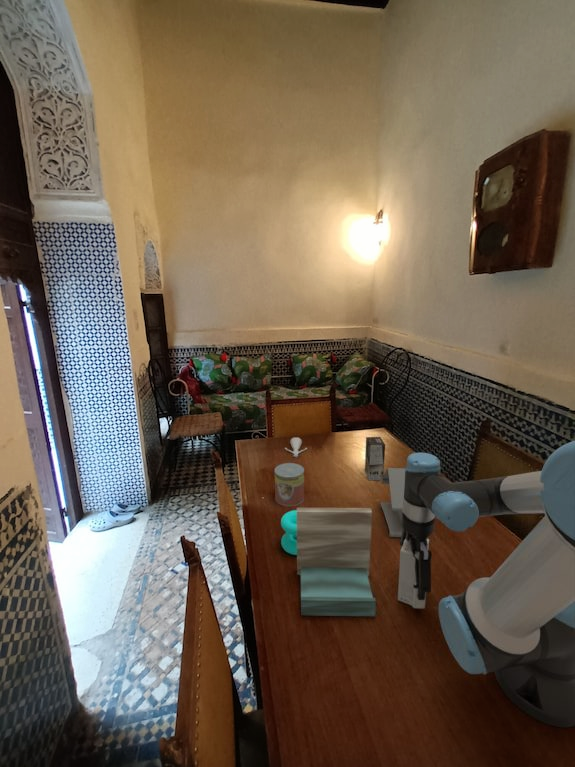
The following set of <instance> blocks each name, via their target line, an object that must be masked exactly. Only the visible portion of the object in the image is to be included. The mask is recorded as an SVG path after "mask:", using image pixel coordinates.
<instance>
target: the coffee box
mask: <svg viewBox="0 0 575 767" xmlns="http://www.w3.org/2000/svg"><path fill="white" fill-rule="evenodd" d="M385 453H386V444H385V441H384V440H383V439H382V438H381V436H371V437H370V436H365V455H364V457H365V459H364V472H365V475H366V477H367V479H368V481H381V480H382V477H383V476H384V474H385V472H384V471H385V456H386V454H385Z"/></svg>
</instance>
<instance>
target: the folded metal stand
mask: <svg viewBox="0 0 575 767" xmlns="http://www.w3.org/2000/svg"><path fill="white" fill-rule="evenodd" d="M405 469H406V467H404V468H401V467H400V468H399V467H398V468H397V467H387V469H386V471H385V472H384V474H383V477H382V480H380V481H381V485H389V492H390V501H391V502H386V501H385V502H380V503H379V506H380V508H382V512H383V514H384V517H385V521H386V523H387V527H388V530H389V531H388V536H389V537H390V538H401V535H402V531H403V527H402V513H403V510H402V509H403V496H404V485H405Z"/></svg>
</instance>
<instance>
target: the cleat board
mask: <svg viewBox="0 0 575 767" xmlns="http://www.w3.org/2000/svg"><path fill="white" fill-rule="evenodd" d="M296 510H297V555H296V575H297V576H298V575H299V576H300V616H318V617H320V616H325V617H326V616H329V617H333V616H334V617H338V616H339V617H376V605H377V604H376V603H377V599H376V597H373V593H372V589H371V588H372V587H371V585H370V580H369V576H370V562H371V561H370V560H371V543H372V542H371V541H372V540H371V539H372V521H373V519H372V518H373V512H372V508H371V507H296Z"/></svg>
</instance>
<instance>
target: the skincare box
mask: <svg viewBox="0 0 575 767" xmlns="http://www.w3.org/2000/svg"><path fill="white" fill-rule="evenodd" d="M426 539H427V550H429V547H430V546H429V545H430V539H429V538H426ZM399 552H400V553H399V570H398V573H399V574H398V587H397V588H398V589H397V601H399V602H401V603H405V604H407V605H409V606H411V607H413V595H414V587H413V585H414V584H416V575H415V557H416V558H417V559H418V560H419V555H418V553H419V552H416V551H415V554H414V556H415V557H413V553H412V550H411V545H410V540H406V539H405V540H404V544H403V546H401V549H400V551H399ZM418 609H419V610H421V609H422V608H418Z"/></svg>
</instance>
